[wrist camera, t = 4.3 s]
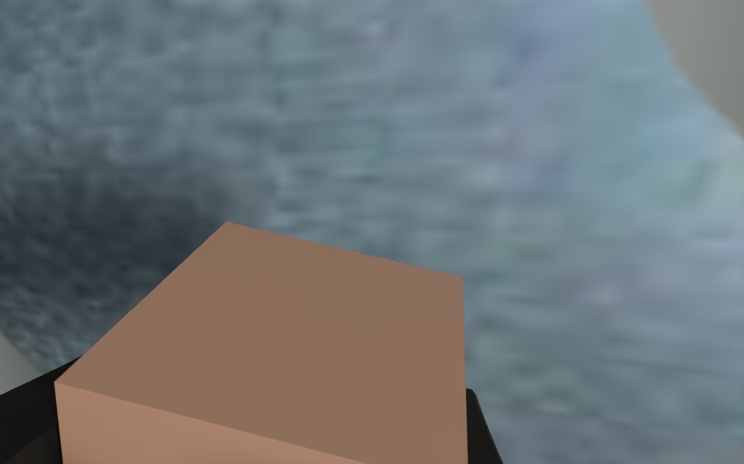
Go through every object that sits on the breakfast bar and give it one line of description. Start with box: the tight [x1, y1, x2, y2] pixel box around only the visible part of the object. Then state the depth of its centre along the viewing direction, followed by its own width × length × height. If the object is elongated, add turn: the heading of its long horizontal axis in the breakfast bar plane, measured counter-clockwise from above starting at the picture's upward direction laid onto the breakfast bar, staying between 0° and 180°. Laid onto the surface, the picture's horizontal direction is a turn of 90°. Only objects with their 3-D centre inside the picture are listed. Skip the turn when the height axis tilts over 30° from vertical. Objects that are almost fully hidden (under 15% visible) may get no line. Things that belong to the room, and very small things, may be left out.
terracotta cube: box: [54, 222, 468, 464], centre depth 9 cm, size 5×5×5 cm
